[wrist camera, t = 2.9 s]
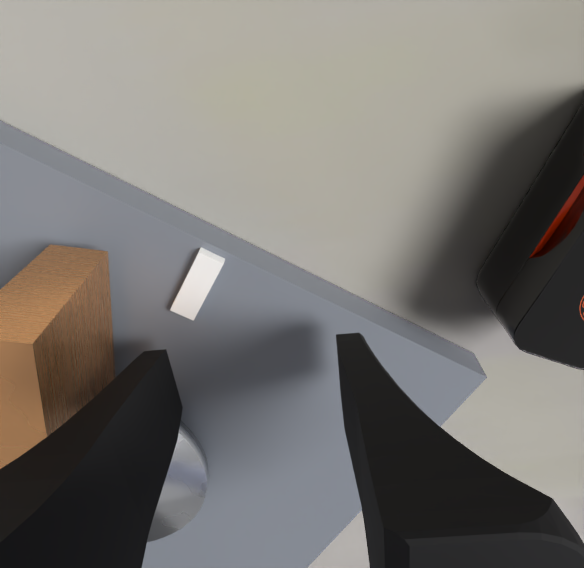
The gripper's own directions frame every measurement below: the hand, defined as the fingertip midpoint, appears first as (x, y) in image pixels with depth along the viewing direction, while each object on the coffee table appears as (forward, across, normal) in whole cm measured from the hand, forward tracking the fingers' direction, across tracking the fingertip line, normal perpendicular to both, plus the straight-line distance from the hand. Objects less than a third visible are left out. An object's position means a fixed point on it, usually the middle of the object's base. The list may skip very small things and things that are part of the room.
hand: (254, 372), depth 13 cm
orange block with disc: (+1, +5, +2) cm, 6 cm away
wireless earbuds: (+3, -9, -2) cm, 10 cm away
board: (+2, +5, +3) cm, 7 cm away
